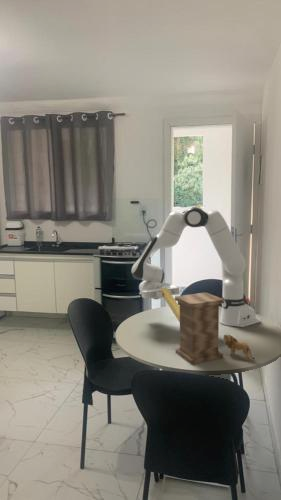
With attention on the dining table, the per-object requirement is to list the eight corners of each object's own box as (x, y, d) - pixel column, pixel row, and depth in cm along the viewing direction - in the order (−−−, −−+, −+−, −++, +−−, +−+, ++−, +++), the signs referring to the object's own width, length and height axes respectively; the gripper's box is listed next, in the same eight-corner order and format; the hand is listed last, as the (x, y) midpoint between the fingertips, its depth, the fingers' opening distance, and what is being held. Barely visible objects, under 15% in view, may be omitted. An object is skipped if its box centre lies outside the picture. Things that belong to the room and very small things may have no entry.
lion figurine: (220, 354, 173) (220, 335, 172) (225, 350, 178) (225, 331, 176) (253, 362, 165) (253, 342, 164) (257, 358, 169) (258, 338, 168)
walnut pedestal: (205, 346, 183) (205, 292, 180) (223, 357, 170) (223, 299, 167) (175, 352, 177) (174, 296, 173) (191, 364, 164) (191, 304, 161)
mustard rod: (165, 292, 203) (166, 287, 201) (186, 323, 184) (187, 318, 183) (160, 293, 202) (161, 288, 200) (180, 324, 183) (182, 319, 182)
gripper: (137, 287, 207) (147, 290, 195) (171, 283, 215) (183, 285, 202) (138, 299, 208) (148, 303, 195) (172, 294, 215) (184, 298, 202)
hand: (166, 294), depth 199 cm, fingers closed on mustard rod, 3 cm apart
